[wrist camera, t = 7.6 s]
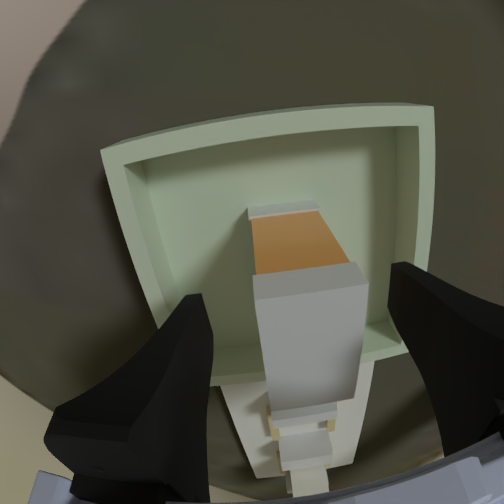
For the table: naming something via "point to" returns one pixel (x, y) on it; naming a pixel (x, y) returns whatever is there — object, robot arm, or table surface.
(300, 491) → the block
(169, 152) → the tray
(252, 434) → the fuse block
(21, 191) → the table surface
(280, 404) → the block
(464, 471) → the robot arm
